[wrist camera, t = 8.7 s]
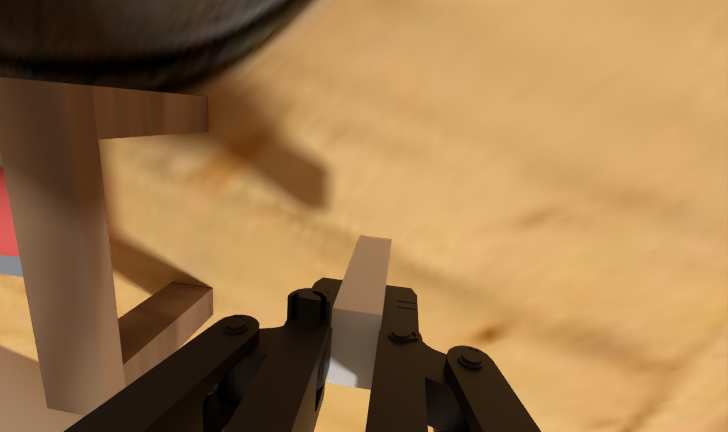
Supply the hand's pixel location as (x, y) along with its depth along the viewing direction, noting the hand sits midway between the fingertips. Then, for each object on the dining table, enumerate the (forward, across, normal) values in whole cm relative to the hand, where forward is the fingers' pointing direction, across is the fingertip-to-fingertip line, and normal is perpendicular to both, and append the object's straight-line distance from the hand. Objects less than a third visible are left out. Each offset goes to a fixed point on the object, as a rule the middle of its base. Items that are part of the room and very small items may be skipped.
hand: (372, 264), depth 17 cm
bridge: (+5, -12, 0) cm, 14 cm away
